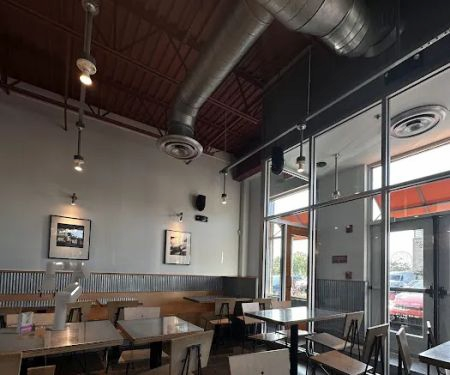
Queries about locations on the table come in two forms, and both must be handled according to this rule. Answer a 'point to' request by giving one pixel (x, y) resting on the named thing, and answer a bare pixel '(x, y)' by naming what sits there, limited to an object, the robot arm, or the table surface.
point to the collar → (39, 331)
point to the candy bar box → (24, 322)
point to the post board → (31, 335)
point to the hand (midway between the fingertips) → (47, 297)
